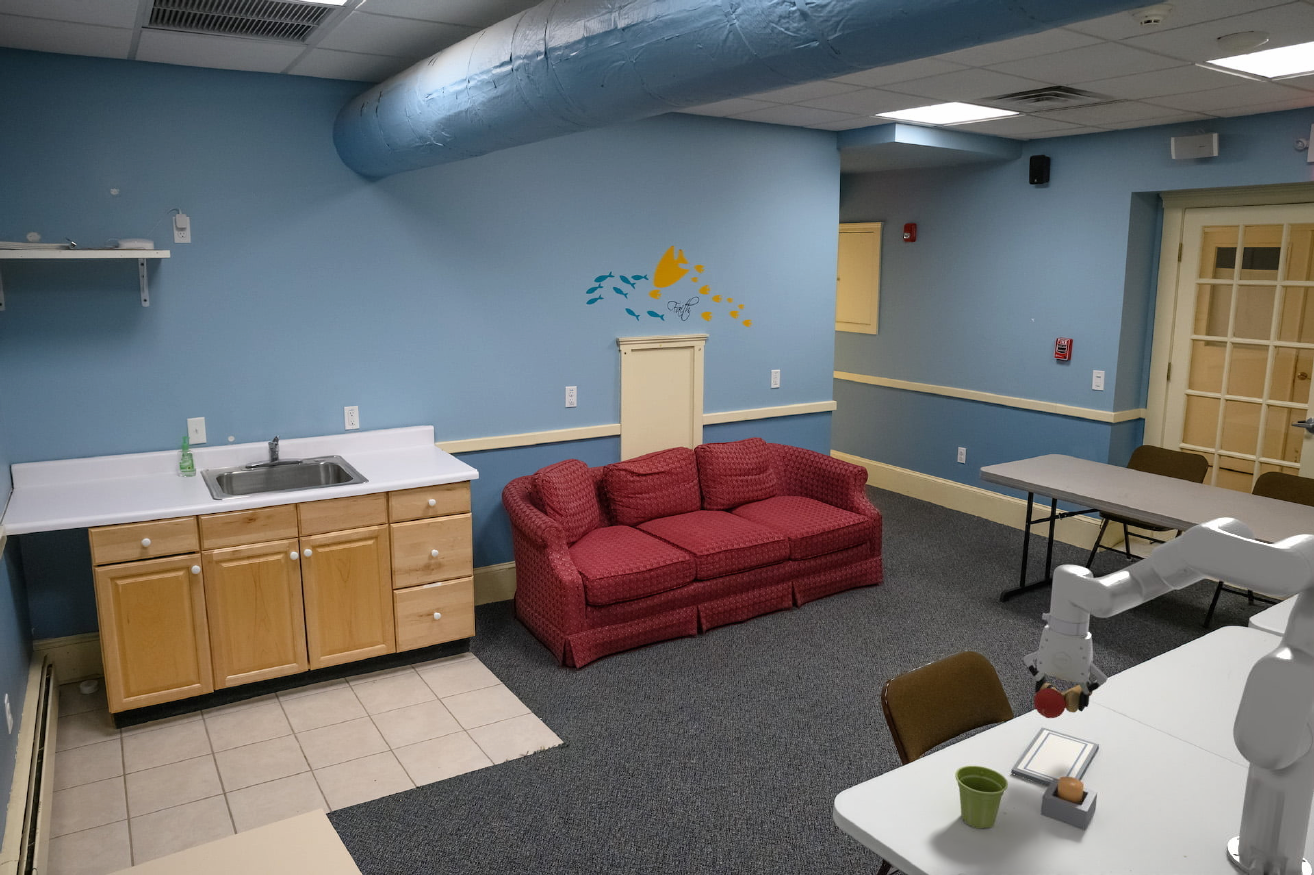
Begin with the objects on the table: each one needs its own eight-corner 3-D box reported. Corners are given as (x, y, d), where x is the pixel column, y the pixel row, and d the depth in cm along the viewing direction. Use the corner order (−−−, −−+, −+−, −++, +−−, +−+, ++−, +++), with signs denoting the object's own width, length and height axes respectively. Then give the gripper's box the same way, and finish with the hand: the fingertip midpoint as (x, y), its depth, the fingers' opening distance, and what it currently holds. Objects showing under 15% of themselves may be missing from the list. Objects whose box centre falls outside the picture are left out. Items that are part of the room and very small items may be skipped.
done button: (1078, 806, 171) (1080, 792, 171) (1054, 798, 174) (1055, 784, 173) (1084, 795, 175) (1086, 781, 174) (1060, 787, 177) (1062, 774, 177)
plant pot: (963, 799, 179) (966, 759, 178) (1011, 817, 173) (1014, 776, 172) (944, 821, 172) (947, 780, 171) (994, 841, 166) (997, 799, 165)
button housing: (1085, 830, 169) (1087, 811, 169) (1040, 814, 174) (1042, 796, 174) (1095, 810, 176) (1097, 792, 175) (1052, 795, 180) (1054, 777, 180)
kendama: (1063, 693, 200) (1020, 707, 188) (1073, 668, 198) (1029, 680, 187) (1096, 713, 194) (1053, 728, 183) (1106, 687, 192) (1064, 701, 181)
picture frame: (1072, 794, 181) (1072, 789, 181) (1011, 773, 188) (1011, 768, 188) (1098, 748, 198) (1099, 743, 198) (1041, 731, 205) (1042, 726, 205)
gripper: (1020, 619, 189) (1013, 697, 193) (1110, 641, 179) (1101, 722, 182) (1030, 609, 195) (1024, 684, 199) (1118, 629, 185) (1110, 708, 188)
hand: (1061, 702), depth 190 cm, fingers closed on kendama, 7 cm apart
